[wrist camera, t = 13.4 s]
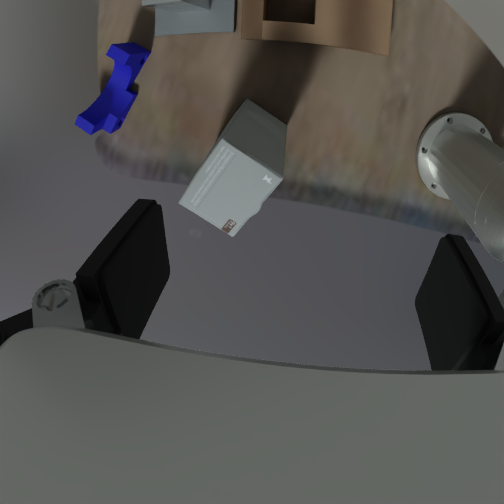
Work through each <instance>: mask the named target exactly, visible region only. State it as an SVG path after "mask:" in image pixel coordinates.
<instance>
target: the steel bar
mask: <svg viewBox="0 0 504 504" xmlns="http://www.w3.org/2000/svg"><path fill="white" fill-rule="evenodd" d="M142 6H146V7H152V8H158V9H164V10H169V11H174V12H188V11H205V10H210V0H142Z"/></svg>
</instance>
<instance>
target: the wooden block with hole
mask: <svg viewBox="0 0 504 504" xmlns="http://www.w3.org/2000/svg"><path fill="white" fill-rule="evenodd" d="M267 2H268V0H243V2H242V29H241V39H246V40H270V41H286V42H298V43H308V44H317V45H325V46H332V47H339V48H346V49H352V50H358V51H363V52H368V53H373V54H378V55H385V56H388V55H389V45H390V34H391V21H392V6H393V0H315V10H314V24H305V23H294V22H280V21H267Z"/></svg>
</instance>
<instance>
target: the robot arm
mask: <svg viewBox="0 0 504 504" xmlns="http://www.w3.org/2000/svg"><path fill="white" fill-rule="evenodd" d="M448 118H449V120H448V121H447V119H448ZM423 147H424V149H423V150H422V148H423ZM416 163H417V169H418V172H419V175H420V177H421V179H422V181H423V182H424V183H425V185H426V186H427V187H428V188H429V190H430V191H432V192H433V193H434V194H436V195H437V196H440V197H442V198H445V199H450V200H451V201H452V202H453V203H454V205H455V206H456V207H457V209H458V210H459V211H460V213H461V214H462V216H463V217H464V218H465V220H466V221H467V223H468V224H469V225H470V227H471V228H472V230H473V231H474V233H475V234H476V235H477V237H478V238H479V240H480V241H481V243H482V244H483V246H484V247H485V248H486V250H487V251H488V252H489V253H490V254H491V255H492V256H493V257H494V258H496V259H497V260H499V261H501V262H503V263H504V149H502V148H501V147H499V146H498V145H496V144H495V143H494V142H493V140H492V137H491V135H490V133H489V131H488V130H487V128H486V127H485V126H484V125H483V124H482V123H481V122H480V121H479V120H478V119H476V118H475V117H473V116H471V115H468V114H465V113H461V112H451V113H446V114H444V115H441V116H439V117H437V118H436V119H434V120H433V121H432V122H431V123H430V124H429V125H428V126H427V127H426V128H425V130H424V131H423V133H422V135H421V137H420V139H419V142H418V146H417V151H416ZM432 184H433V185H432ZM169 275H170V265H169V258H168V252H167V245H166V237H165V229H164V222H163V214H162V207H161V205H159V204H157V202H156V201H155V200H147V199H138V200H137V201H136V202H135V203H134V204H133V205H132V207H131V208H130V209H129V210H128V211H127V212H126V213H125V214H124V215H123V217H122V218H121V219H120V220H119V222H117V224H116V225H115V226H114V227H113V228H112V230H111V231H110V232H109V233H108V234H107V235H106V237H105V238H104V239H103V240H102V241H101V243H100V244H99V245H98V246H97V247H96V249H95V250H94V251H93V252H92V254H91V255H90V256H89V257H88V259H87V260H86V261H85V263H84V264H83V265H82V267H81V268H80V269H79V270H78V272H77V273H76V279H75V280H74V281H73V283H72V282H71V281H68V280H65V279H58V280H53V281H51V282H48V283H46V284H44V285H43V286H42V287H41V288H39V289H38V290H37V292H36V293H35V295H34V297H33V299H32V308H31V309H29V310H27V311H24V312H22V313H19V314H17V315H15V316H12V317H10V318H8V319H5V320H3V321H1V322H0V504H504V289H503V290H502V292H501V293H500V295H499V296H498V297H497V295H496V293H495V291H494V289H493V287H492V285H491V284H490V282H489V280H488V278H487V276H486V274H485V273H484V271H483V269H482V267H481V266H480V264H479V262H478V260H477V259H476V257H475V255H474V254H473V252H472V250H471V249H470V247H469V245H468V244H467V242H466V240H465V239H464V238H463V236H458V235H452V234H447V235H446V236H445V237H442V238H441V239H440V241H439V244H438V246H437V249H436V251H435V254H434V256H433V259H432V261H431V264H430V266H429V268H428V271H427V274H426V276H425V278H424V280H423V282H422V285H421V287H420V289H419V291H418V294H417V296H416V299H415V307H416V311H417V314H418V318H419V321H420V325H421V328H422V332H423V336H424V340H425V343H426V348H427V351H428V356H429V360H430V364H431V369H432V371H420V370H416V371H415V370H381V369H361V368H343V367H330V366H318V365H307V364H296V363H287V362H278V361H269V360H261V359H253V358H246V357H238V356H230V355H225V354H218V353H212V352H205V351H199V350H193V349H188V348H182V347H176V346H171V345H166V344H160V343H155V342H150V341H145V340H140V336H141V334H142V332H143V330H144V328H145V326H146V324H147V321H148V319H149V317H150V315H151V313H152V311H153V309H154V307H155V305H156V303H157V301H158V299H159V297H160V295H161V293H162V291H163V289H164V287H165V285H166V283H167V281H168V279H169Z"/></svg>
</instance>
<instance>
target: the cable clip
mask: <svg viewBox="0 0 504 504" xmlns="http://www.w3.org/2000/svg"><path fill="white" fill-rule="evenodd" d="M150 53H151V52H150V51H148V50H147V49H145V48H143V47H142V46H140V45H138V44H136V43H135V42H132V43H120V44H112V45H111V47H110V48H109V50H108V52H107V54H106V55H107V56H109V57H111V58H112V59H114V61H115V65H114V70H113V73H112V75H111V78H110V80H109V82H108V84H107V85H106V87H105V89H104V90H103V92H102V93H101V94H100V96H99V97H98V98H97V100H96V101H95V102H94V103H93V104H92V105H91V106H90V107H89V108H88V109H87V110H86V111H84V112H83V113H81V114H79V115H78V117H77V120H76V122H75V125H77V126H78V127H79V128H81V129H82V130H84V131H85V132H87V133H88V134H90V135H91V134H93V133H95V132H97V131H98V130H100V129H104V130H105V131H107V132H108V133H110V134H111V133H113V132H114V131H116V130H118V129H119V128H120V127H121V125H122V123H123V121H124V119H125V117H126V115H127V114H128V112H129V110H130V108H131V106H132V104H133V102H134V101H135V99H136V97H137V95H138V93H136V92H135V91H133V90H131V89H130V88H131V86H132V84H133V82H134V80H135V79H136V77H137V75H138V73H139V72H140V70H141V68H142V66H143V65H144V63H145V61H146V60H147V58H148V56H149V55H150Z"/></svg>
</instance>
